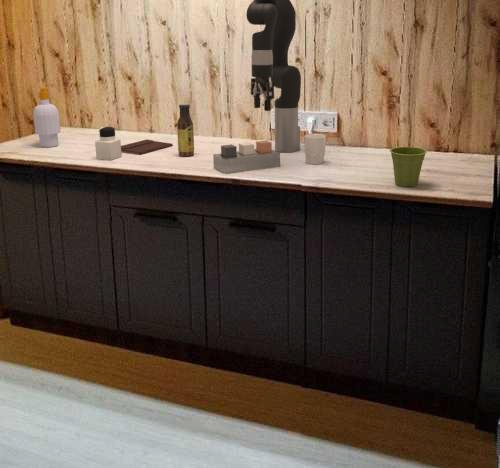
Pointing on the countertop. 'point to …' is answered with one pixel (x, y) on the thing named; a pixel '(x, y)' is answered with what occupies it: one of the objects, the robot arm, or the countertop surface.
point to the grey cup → (315, 148)
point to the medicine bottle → (108, 144)
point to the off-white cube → (246, 148)
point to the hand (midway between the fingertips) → (262, 109)
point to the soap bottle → (46, 121)
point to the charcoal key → (228, 150)
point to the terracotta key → (263, 146)
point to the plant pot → (407, 164)
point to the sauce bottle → (185, 132)
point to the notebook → (144, 147)
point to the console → (246, 161)
